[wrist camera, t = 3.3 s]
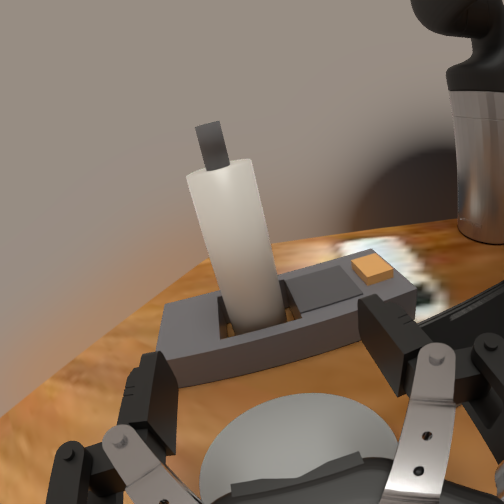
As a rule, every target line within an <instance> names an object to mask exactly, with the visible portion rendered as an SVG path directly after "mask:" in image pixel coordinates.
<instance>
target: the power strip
mask: <svg viewBox="0 0 504 504" xmlns="http://www.w3.org/2000/svg"><path fill="white" fill-rule="evenodd" d="M277 276H278V280H279V285H280V289H281V294H282V299H283V303H284V308H287V307H290V309H291V311H292V313H293V316H294V318H295V320H294V321H290V322H287V323H283V324H279V325H276V326H272V327H268V328H265V329H261V330H257V331H253V332H249V333H245V334H241V335H237V336H233V337H229V338H228V335H227V326H226V324H227V323H231V321H230V318H229V315H228V312H227V309H226V306H225V303H224V300H223V297H222V294H221V291H220V290H219V291H215V292H211V293H208V294H204V295H200V296H196V297H192V298H188V299H184V300H180V301H176V302H171V303H167V304H165V306H164V311H163V316H162V321H161V326H160V331H159V336H158V341H157V347H156V351H161V352H162V353H163V355H164V357H165V358H166V360H167V362H168V364H169V366H170V368H171V370H172V371H173V373H174V375H175V377H176V380H177V383H178V388H182V387H188V386H193V385H198V384H203V383H208V382H213V381H218V380H223V379H227V378H232V377H236V376H240V375H244V374H249V373H253V372H257V371H261V370H265V369H269V368H272V367H276V366H280V365H283V364H287V363H291V362H294V361H298V360H301V359H304V358H308V357H311V356H314V355H318V354H321V353H324V352H327V351H330V350H333V349H336V348H339V347H342V346H345V345H348V344H351V343H354V342H357V341H360V340H361V338H360V335H359V330H358V307H357V302H358V299H360V298H363V297H366V296H369V295H372V294H377V295H378V296H379V297H380V298H381V299H382V300H383V301H384V303H387V302H389V301H391V302H393V303H395V304H397V305H399V306H401V307H402V308H403V309H404V310H405V311H406V312H407V314H408V315H409V316H410V317H411V318H412V319H413V320H414V319H415V311H416V298H417V288H416V287H415V286H414V285H413V284H412V283H410V282H409V281H408V280H407V279H406V278H405V277H404V276H403V275H401V274H400V273H399V272H398V271H397V270H396V269H395V268H393V267H392V266H391V265H390V264H389V263H388V262H387V261H385V260H384V259H383V258H382V257H381V256H380V255H378V254H377V253H376V252H375V251H374V250H372V249H368V250H365V251H361V252H358V253H355V254H351V255H348V256H344V257H341V258H337V259H334V260H330V261H327V262H323V263H320V264H316V265H313V266H309V267H305V268H302V269H298V270H294V271H291V272H287V273H284V274H280V275H277Z"/></svg>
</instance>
